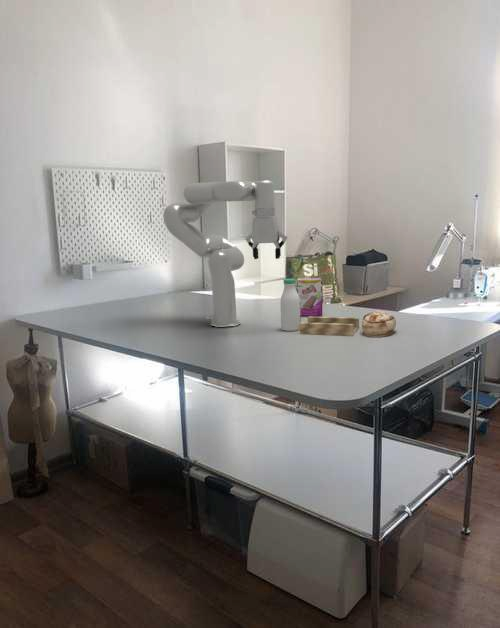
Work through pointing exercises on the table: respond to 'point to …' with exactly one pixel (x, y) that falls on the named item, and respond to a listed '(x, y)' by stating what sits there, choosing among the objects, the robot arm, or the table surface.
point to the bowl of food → (378, 324)
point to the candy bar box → (310, 296)
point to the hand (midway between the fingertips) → (266, 258)
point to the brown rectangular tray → (330, 326)
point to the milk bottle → (290, 307)
